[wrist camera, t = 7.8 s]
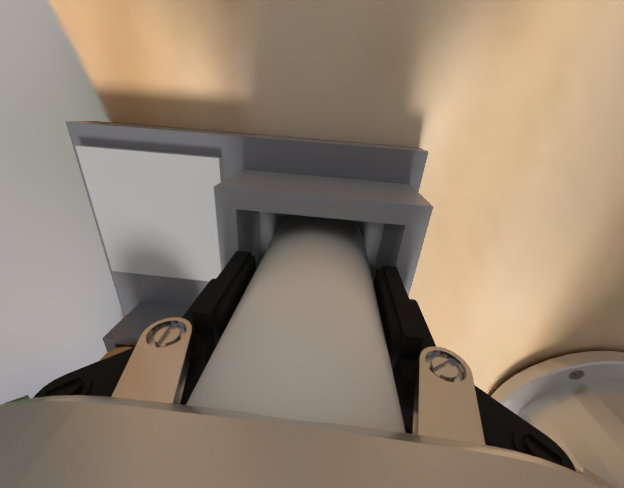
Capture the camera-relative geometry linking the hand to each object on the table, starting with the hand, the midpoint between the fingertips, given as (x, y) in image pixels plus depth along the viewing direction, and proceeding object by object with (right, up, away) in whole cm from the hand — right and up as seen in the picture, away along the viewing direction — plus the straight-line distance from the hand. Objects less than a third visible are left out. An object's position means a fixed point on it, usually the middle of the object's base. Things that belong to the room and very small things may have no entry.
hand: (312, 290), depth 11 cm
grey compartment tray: (-4, +1, +6) cm, 7 cm away
